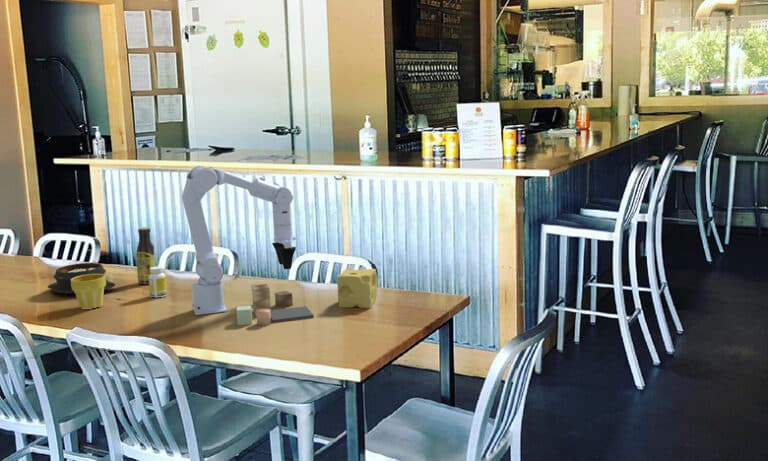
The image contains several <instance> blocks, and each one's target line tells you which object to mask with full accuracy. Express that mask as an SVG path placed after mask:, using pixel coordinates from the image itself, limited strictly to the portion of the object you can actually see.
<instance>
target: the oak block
mask: <svg viewBox="0 0 768 461" xmlns="http://www.w3.org/2000/svg"><path fill="white" fill-rule="evenodd" d="M251 295H252V296H251V297H252V311H253V312H254V314H255V315H256V316H257V314H256V311H257V310H259V309H270V311H271V310H272V309H271V308H272V307H271V306H272V304H271V296H270V295H271V291H270V286H269V285H268V284H267V283H263V284H255V285H251Z"/></svg>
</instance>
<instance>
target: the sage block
mask: <svg viewBox="0 0 768 461" xmlns="http://www.w3.org/2000/svg"><path fill="white" fill-rule="evenodd" d="M252 311H253V309H252V305H242V306H240V305H239V306H237V307H236V321H237V326H245V325H247V326H249V325H253V313H252Z"/></svg>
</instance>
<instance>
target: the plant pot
mask: <svg viewBox="0 0 768 461" xmlns="http://www.w3.org/2000/svg"><path fill="white" fill-rule="evenodd" d="M106 280H107V279H106V276H105V274H104V275H103V274H87V275H81V276H77V277H74V278H72V279H71V287H72V290H73V291H74V292H75V294H76V295H75V297H76V300H77V302H78V306H79V307H81V308H96V307H99V308H101V307H103V303H104V292H105V290H104V287H105V286H106ZM100 306H101V307H100ZM81 308H80V309H81ZM96 309H97V308H96Z"/></svg>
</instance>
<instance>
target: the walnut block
mask: <svg viewBox="0 0 768 461" xmlns="http://www.w3.org/2000/svg"><path fill="white" fill-rule="evenodd" d="M274 302H275V303H274V304H275V306H276V307H278V308H280V309H284V308H288V307H293V305H294V304H293V303H294V302H293V293H292V292H290V291H288V290H283V291H278V292H274Z"/></svg>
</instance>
